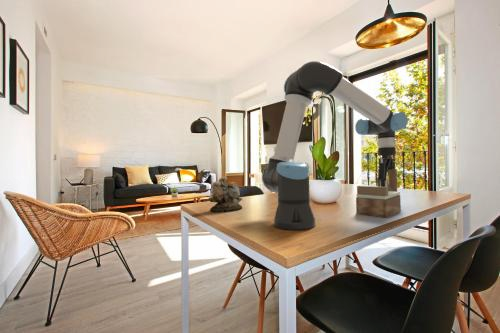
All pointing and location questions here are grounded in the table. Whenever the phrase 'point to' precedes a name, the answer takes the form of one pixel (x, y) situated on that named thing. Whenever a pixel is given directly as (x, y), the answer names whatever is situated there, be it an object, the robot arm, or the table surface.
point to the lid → (375, 192)
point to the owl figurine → (225, 196)
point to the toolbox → (378, 206)
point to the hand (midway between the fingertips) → (387, 193)
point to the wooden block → (391, 180)
